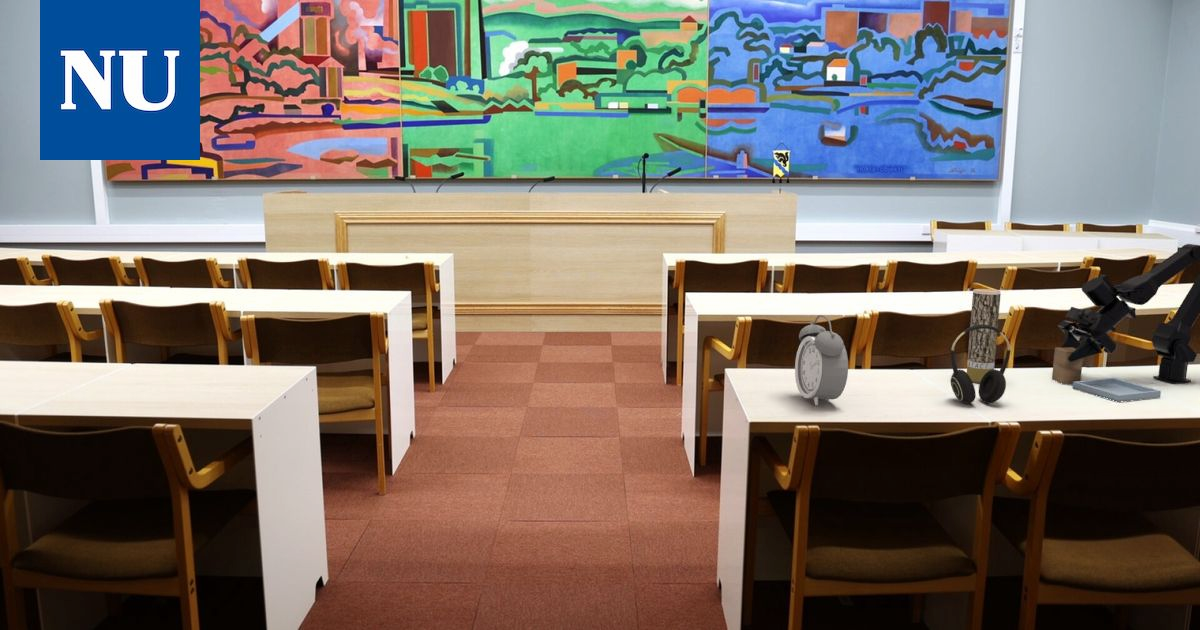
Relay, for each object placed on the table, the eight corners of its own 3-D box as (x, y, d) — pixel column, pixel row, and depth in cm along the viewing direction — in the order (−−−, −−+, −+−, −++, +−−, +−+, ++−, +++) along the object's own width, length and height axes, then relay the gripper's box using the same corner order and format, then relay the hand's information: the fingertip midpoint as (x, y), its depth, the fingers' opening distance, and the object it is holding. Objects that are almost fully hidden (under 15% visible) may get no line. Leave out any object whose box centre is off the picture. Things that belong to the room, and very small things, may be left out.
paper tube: (972, 376, 244) (980, 288, 239) (997, 381, 239) (1005, 291, 234) (961, 380, 239) (968, 290, 235) (986, 385, 234) (994, 293, 230)
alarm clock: (790, 393, 226) (794, 310, 222) (822, 392, 228) (826, 309, 223) (815, 411, 210) (820, 322, 206) (849, 410, 212) (854, 321, 208)
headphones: (940, 398, 222) (945, 321, 219) (997, 397, 223) (1004, 321, 219) (954, 407, 214) (960, 327, 210) (1013, 407, 214) (1021, 327, 210)
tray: (1112, 384, 236) (1113, 377, 236) (1160, 397, 223) (1160, 390, 223) (1072, 388, 232) (1073, 381, 231) (1118, 402, 219) (1119, 395, 218)
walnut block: (1069, 379, 241) (1072, 347, 239) (1080, 383, 236) (1083, 351, 234) (1051, 379, 241) (1055, 347, 239) (1062, 384, 236) (1065, 351, 234)
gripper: (1068, 291, 243) (1026, 331, 245) (1110, 303, 225) (1065, 345, 227) (1092, 319, 245) (1050, 357, 247) (1136, 332, 227) (1091, 374, 228)
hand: (1063, 358), depth 237 cm, fingers closed on walnut block, 5 cm apart
